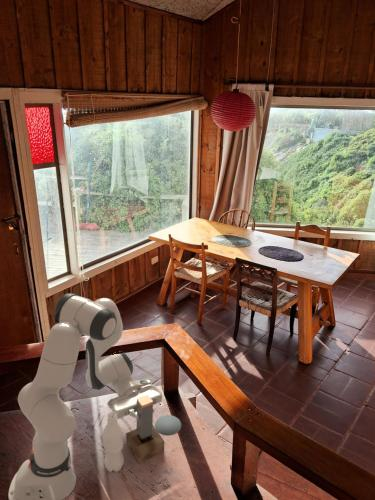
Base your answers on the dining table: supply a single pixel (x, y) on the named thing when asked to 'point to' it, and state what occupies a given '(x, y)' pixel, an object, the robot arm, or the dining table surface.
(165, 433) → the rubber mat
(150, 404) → the plug peg
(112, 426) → the water bottle
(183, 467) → the dining table surface
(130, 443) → the block
